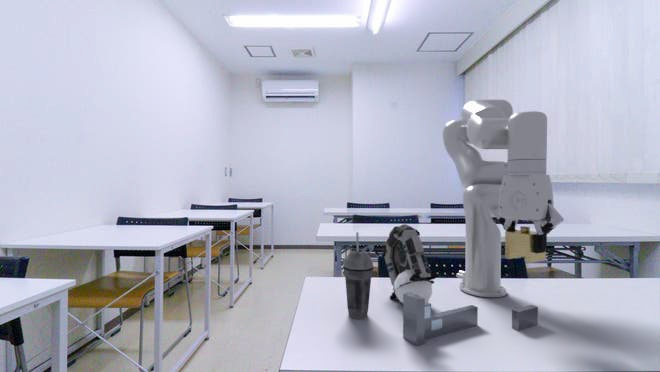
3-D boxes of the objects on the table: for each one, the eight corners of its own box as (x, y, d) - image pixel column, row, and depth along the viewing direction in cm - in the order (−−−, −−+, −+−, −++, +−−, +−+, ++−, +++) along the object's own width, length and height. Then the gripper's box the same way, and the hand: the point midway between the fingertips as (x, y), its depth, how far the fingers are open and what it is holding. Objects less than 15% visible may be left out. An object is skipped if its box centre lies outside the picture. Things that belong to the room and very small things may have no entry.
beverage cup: (376, 311, 83) (376, 230, 83) (369, 323, 76) (370, 234, 76) (347, 308, 85) (348, 229, 85) (338, 319, 78) (339, 233, 78)
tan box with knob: (505, 258, 76) (505, 226, 76) (521, 255, 79) (521, 224, 79) (529, 263, 71) (529, 229, 71) (545, 260, 74) (545, 227, 74)
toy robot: (453, 293, 79) (424, 213, 91) (416, 297, 76) (391, 213, 88) (420, 315, 92) (398, 243, 105) (388, 319, 90) (369, 244, 102)
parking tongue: (511, 327, 74) (512, 309, 74) (531, 322, 77) (531, 304, 77) (518, 330, 73) (518, 312, 73) (537, 324, 76) (537, 306, 76)
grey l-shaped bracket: (403, 337, 69) (403, 293, 69) (467, 320, 78) (467, 281, 78) (416, 345, 65) (416, 299, 65) (482, 327, 74) (482, 286, 74)
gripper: (481, 169, 81) (480, 244, 81) (558, 167, 65) (556, 259, 66) (501, 170, 84) (500, 242, 84) (578, 167, 69) (577, 255, 69)
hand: (525, 249), depth 75 cm, fingers closed on tan box with knob, 5 cm apart
